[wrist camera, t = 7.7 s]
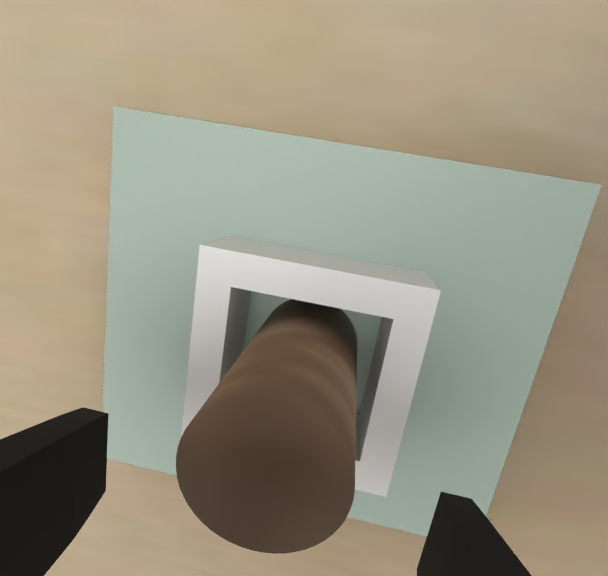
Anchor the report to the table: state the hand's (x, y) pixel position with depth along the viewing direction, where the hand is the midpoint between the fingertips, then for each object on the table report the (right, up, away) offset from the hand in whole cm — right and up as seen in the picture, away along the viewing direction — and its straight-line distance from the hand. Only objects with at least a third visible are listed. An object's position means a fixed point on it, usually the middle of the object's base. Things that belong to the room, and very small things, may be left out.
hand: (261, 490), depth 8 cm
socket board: (+1, +2, +9) cm, 9 cm away
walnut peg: (+1, +2, +8) cm, 8 cm away
